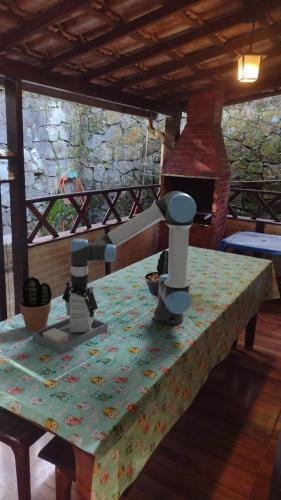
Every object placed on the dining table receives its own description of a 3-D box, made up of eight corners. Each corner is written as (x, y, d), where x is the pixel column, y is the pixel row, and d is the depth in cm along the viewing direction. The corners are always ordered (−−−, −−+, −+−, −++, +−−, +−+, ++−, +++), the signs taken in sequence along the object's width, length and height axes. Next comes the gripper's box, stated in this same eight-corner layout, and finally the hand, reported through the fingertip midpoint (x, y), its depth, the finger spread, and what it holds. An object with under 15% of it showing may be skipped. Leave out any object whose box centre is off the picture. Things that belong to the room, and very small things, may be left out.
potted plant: (35, 338, 161) (33, 284, 154) (14, 329, 167) (12, 277, 161) (57, 327, 172) (56, 276, 166) (37, 319, 179) (35, 270, 173)
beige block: (68, 342, 156) (68, 334, 155) (57, 348, 151) (57, 339, 150) (54, 336, 161) (54, 327, 160) (43, 341, 156) (43, 332, 155)
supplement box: (72, 323, 172) (71, 289, 168) (91, 323, 173) (91, 289, 169) (69, 332, 163) (69, 297, 159) (90, 332, 163) (90, 297, 159)
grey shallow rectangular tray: (107, 331, 169) (107, 323, 168) (61, 355, 147) (61, 346, 146) (79, 320, 180) (79, 312, 179) (32, 341, 157) (32, 333, 156)
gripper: (106, 278, 156) (105, 324, 162) (66, 266, 170) (66, 309, 176) (94, 282, 151) (93, 330, 156) (53, 270, 165) (54, 314, 170)
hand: (79, 319), depth 166 cm, fingers closed on supplement box, 13 cm apart
